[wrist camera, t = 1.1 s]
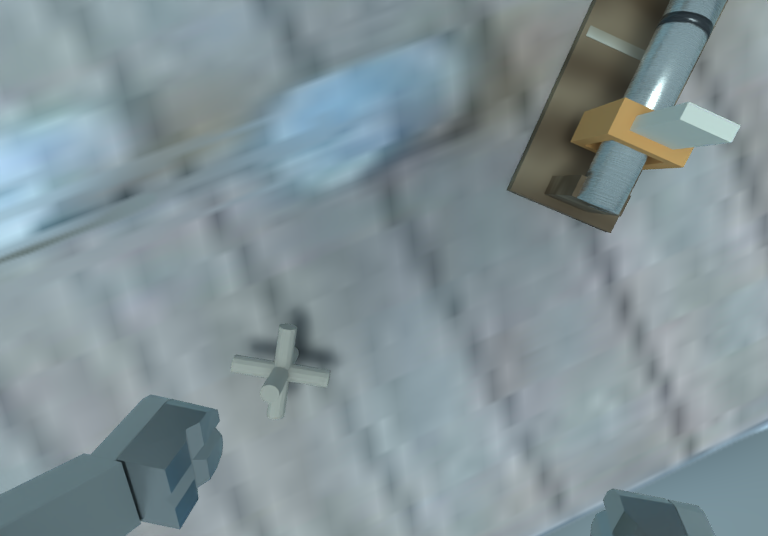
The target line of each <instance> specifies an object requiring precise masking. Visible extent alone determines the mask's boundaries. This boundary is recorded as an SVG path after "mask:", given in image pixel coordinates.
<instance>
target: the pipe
mask: <svg viewBox="0 0 768 536" xmlns="http://www.w3.org/2000/svg"><path fill="white" fill-rule="evenodd" d="M726 1H727V0H670V1H669V3H668V6H667V8H666V10H665V12H664V14H663V16H662V17H661V19H660V21H659V23H658V25H657V27H656V29H655V32H654V35H653V37H652V39H651V41H650V43H649V45H648V47H647V49H646V51H645V53H644V55H643V57H642V59H641V61H640V64H639V66H638V68H637V70H636V72H635V74H634V76H633V78H632V80H631V82H630V84H629V86H628V88H627V90H626V93H625V95H624V97H623V98H625V97H626V98H628V99H630V100H632V101H635V102H637V103H639V104H641V105H643V106H646V107H648V108H650V109H652V110H654V111H656V110H660V109H664V108H667V107H671V106H674V104H675V102H676V100H677V98H678V96H679V94H680V92H681V90H682V88H683V86H684V84H685V82H686V80H687V78H688V76H689V75H690V73H691V71H692V69H693V67H694V65H695V63H696V61H697V59H698V57H699V55H700V53H701V51H702V49H703V47H704V45H705V43H706V41H707V40H708V38H709V36H710V34H711V32H712V30H713V28H714V25H715V23H716V21H717V19H718V17H719V15H720V13H721V11H722V9H723V7H724V5H725V3H726ZM647 158H648V156H647V155H645V154H643V153H641V152H638V151H636V150H634V149H632V148H629V147H627V146H625V145H623V144H620V143H618V142H616V141H614V140H609V141H603V142H601V144H600V146H599V149H598V151H597V153H596V155H595V157H594V159H593V161H592V163H591V165H590V167H589V169H588V171H587V173H586V175H585V176H586V177H587V178H586V180H585V182H584V184H583V186H582V188H581V190H580V192H579V194H578V196H577V198H579V199H581V200H583V201H586V202H588V203H590V204H593V205H595V206H597V207H600V208H602V209H604V210H601V209H599V208H596V207H593V206H590V205H589V206H590V207H592V208H595V209H598V210H601V211H604V212H607V213H610V212H611V214H616V215H618V214H619V213H620V211H621V209H622V207H623V205H624V203H625V201H626V199H627V197H628V195H629V193H630V191H631V189H632V187H633V186H634V184H635V182H636V180H637V178H638V176H639V174H640V172H641V170H642V168H643V166H644V164H645V162H646V160H647ZM605 210H607V211H605ZM608 211H609V212H608Z"/></svg>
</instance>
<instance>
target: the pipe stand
mask: <svg viewBox="0 0 768 536" xmlns="http://www.w3.org/2000/svg"><path fill="white" fill-rule="evenodd" d="M669 1H670V0H593V1H592V3H591V5H590V8H589V10H588V12H587V14H586V16H585V19H584V21H583V23H582V25H581V27H580V30H579V32H578V34H577V36H576V39H575V41H574V43H573V45H572V47H571V50H570V52H569V54H568V56H567V58H566V61H565V63H564V65H563V67H562V69H561V72H560V74H559V76H558V78H557V81H556V83H555V85H554V87H553V89H552V92H551V94H550V96H549V98H548V100H547V103H546V105H545V107H544V109H543V111H542V114H541V116H540V118H539V120H538V123H537V125H536V127H535V129H534V131H533V134H532V136H531V138H530V140H529V142H528V145H527V147H526V149H525V151H524V153H523V156H522V158H521V160H520V162H519V165H518V167H517V169H516V171H515V173H514V176H513V178H512V180H511V182H510V184H509V187H508V189H507V190H508V191H510V192H513V193H515V194H517V195H520V196H522V197H524V198H527V199H529V200H532V201H534V202H536V203H539V204H541V205H543V206H546V207H548V208H550V209H553V210H555V211H557V212H560V213H562V214H565V215H567V216H569V217H572V218H574V219H576V220H579V221H581V222H583V223H586V224H588V225H590V226H593V227H595V228H598V229H600V230H602V231H605V232H609V233H611V231H612V229H613V227H614V225H615V223H616V221H617V219H618V217H619V216H621V215H622V213H623V211H624V209H625V207H626V205H627V203H628V201H629V199H630V197H631V196H630V194H631V192H632V190H633V188H634V186H635V184H636V182H637V180H638V178H639V176H640V174H641V172H642V170H641V172H640V174H639V176H638V178H637V180H636V182H635V184H634V186H633V187H632V189H631V191H630V193H629V195H628V197H627V199H626V201H625V203H624V205H623V207H622V209H621V211H620V213H619V214H618V215H616V214H611V212H610V213H607V212H604V211H601V210H604V209H602V208H600V207H597V206H595V205H593V204H590V203H588V202H586V201H583V200H581V199H579V198H577V196H578V194H579V192H580V190H581V188H582V186H583V184H584V182H585V180H586V178H587V177H586V176H585V175H586V173H587V171H588V169H589V167H590V165H591V163H592V161H593V159H594V157H595V155H596V153H594V152H592V151H590V150H587V149H585V148H583V147H581V146H578V145H576V144H574V143H571V139H572V137H573V135H574V133H575V131H576V129H577V127H578V125H579V122H580V120H581V118H582V116H583V114H584V112H585V111H588V110H591V109H594V108H596V107H599V106H602V105H605V104H608V103H611V102H613V101H616V100H619V99H622V98H623V97H624V95H625V93H626V90H627V88H628V86H629V84H630V82H631V80H632V78H633V76H634V74H635V72H636V70H637V68H638V66H639V64H640V61H641V59H642V57H643V55H644V53H645V51H646V49H647V47H648V45H649V43H650V41H651V39H652V37H653V35H654V32H655V29H656V27H657V25H658V23H659V21H660V19H661V17H662V16H663V14H664V12H665V10H666V8H667V6H668V3H669ZM727 1H728V0H727ZM727 1H726V3H727ZM726 3H725V5H726ZM725 5H724V7H725ZM724 7H723V9H724ZM723 9H722V11H723ZM722 11H721V13H722ZM721 13H720V15H721ZM720 15H719V17H720ZM719 17H718V19H719ZM718 19H717V21H718ZM717 21H716V23H717ZM716 23H715V25H716ZM715 25H714V27H715ZM713 29H714V28H713ZM712 31H713V30H712ZM711 33H712V32H711ZM710 35H711V34H710ZM709 37H710V36H709ZM708 39H709V38H708ZM707 41H708V40H707ZM707 41H706V43H707ZM706 43H705V45H706ZM705 45H704V47H705ZM704 47H703V49H704ZM703 49H702V51H703ZM702 51H701V53H702ZM701 53H700V55H701ZM700 55H699V57H700ZM699 57H698V59H699ZM698 59H697V61H698ZM697 61H696V63H697ZM696 63H695V65H696ZM695 65H694V67H695ZM694 67H693V69H694ZM693 69H692V71H693ZM692 71H691V73H692ZM691 73H690V75H691ZM690 75H689V76H688V78H687V80H686V82H685V84H684V86H683V88H682V90H681V92H680V94H679V96H680V95H681V93H682V91H683V89H684V87H685V85H686V83H687V81H688V79H689V77H690ZM679 96H678V98H679ZM678 98H677V100H678ZM677 100H676V102H677ZM676 102H675V104H676ZM675 104H674V106H675ZM589 205H590V206H593V207H596V208H599V209H601V210H598V209H595V208H592V207H590V206H589ZM605 211H607V210H605ZM608 212H609V211H608Z"/></svg>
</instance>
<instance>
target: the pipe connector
mask: <svg viewBox="0 0 768 536" xmlns="http://www.w3.org/2000/svg"><path fill="white" fill-rule="evenodd" d="M296 332H297V326H295V325H292V324H281V325H279V332H278V339H277V346H276V354H275V361H271V360H265V359H259V358H252V357H246V356H240V355H235V356H234V358H233V360H232V364H231V372H232V373H239V374H245V375H251V376H257V377H263V378H267V380H266V382H265V383H264V385H263V387H262V389H261V390H260V397H261V398H262V400H263V401H265V402H267V403H269V404H268V411H267V416H268V417H269V418H270V419H275V420H278V419H282V418H283V417H284V413H285V407H286V400H287V393H288V386H289V382H294V383H301V384H307V385H313V386H319V387H325V388H327V387H328V382H329V377H330V370H326V369H320V368H314V367H308V366H301V365H295V362H296V360H297V358H298V356H299V351H298V349H297V348H296V347H294V346H295V339H296Z"/></svg>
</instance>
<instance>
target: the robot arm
mask: <svg viewBox="0 0 768 536" xmlns="http://www.w3.org/2000/svg"><path fill="white" fill-rule="evenodd" d="M219 421H220V419H219V414H218V410H217V409H213V408H209V407H204V406H200V405H196V404H192V403H187V402H183V401H179V400H174V399H170V398H165V397H160V396H156V395H149V396H147V397H145V398H143V399H142V400H141V401H140V402H139V403H138V404H137V406H136V407H135V408H134V409H133V410H132V411H131V412H130V413H129V414H128V415H127V416H126V417H125V418H124V419H123V421H122V422H121V423H120V424H119V425H118V426H117V427H116V428H115V429H114V430H113V431H112V432H111V433H110V434H109V436H108V437H107V438H106V439H105V440H104V441H103V442H102V443H101V444H100V445H99V446H98V447H97V448H96V449H95V450H94V452H93V453H92V454H91V455H89V454H82V455H80V456H78V457H76V458H74V459H72V460H70V461H68V462H66V463H64V464H62V465H60V466H58V467H55V468H53V469H51V470H49V471H47V472H45V473H43V474H41V475H39V476H37V477H35V478H33V479H31V480H29V481H27V482H25V483H23V484H21V485H19V486H17V487H15V488H13V489H11V490H9V491H7V492H5V493H3V494H1V495H0V536H125V535H127V534H128V533H129V532H131V531H132V530H133V529H135V528H136V527H137V526H139V525H140V524H141V522H140V521H143V522H148V523H152V524H157V525H162V526H167V527H172V528H176V529H180V528H181V527H182V525H183V524H184V522H185V520H186V519H187V517H188V515H189V514H190V512H191V510H192V509H193V507H194V505H195V504H196V502H197V501H198V487H199V486H201V485H202V484H204V483H206V482H207V481H209V480H210V479H211V477H212V475H213V474H214V472H215V470H216V469H217V466H218V464H219V461H220V458H221V455H222V449H223V438H222V435H221V433H220V432H219V431H218V430H217V429H216V428H215V427H216V426H217V424H218V423H219ZM603 501H604V505H605V509H606V510H603V511H601V512H599V513H597V514H596V515H595V518H594V520H593V522H592V525H591V534H590V536H716V535H715V533H714V531H713V529H712V527H711V525H710V523H709V521H708V519H707V517H706V515H705V513H704V512H703V510H702V509H700V507H699V506H697V505H692V504H687V503H682V502H677V501H672V500H666V499H665V498H660V497H655V496H649V495H644V494H639V493H634V492H628V491H623V490H618V489H611V490H609V491H607V493H606V495H605V497H604V499H603Z"/></svg>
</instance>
